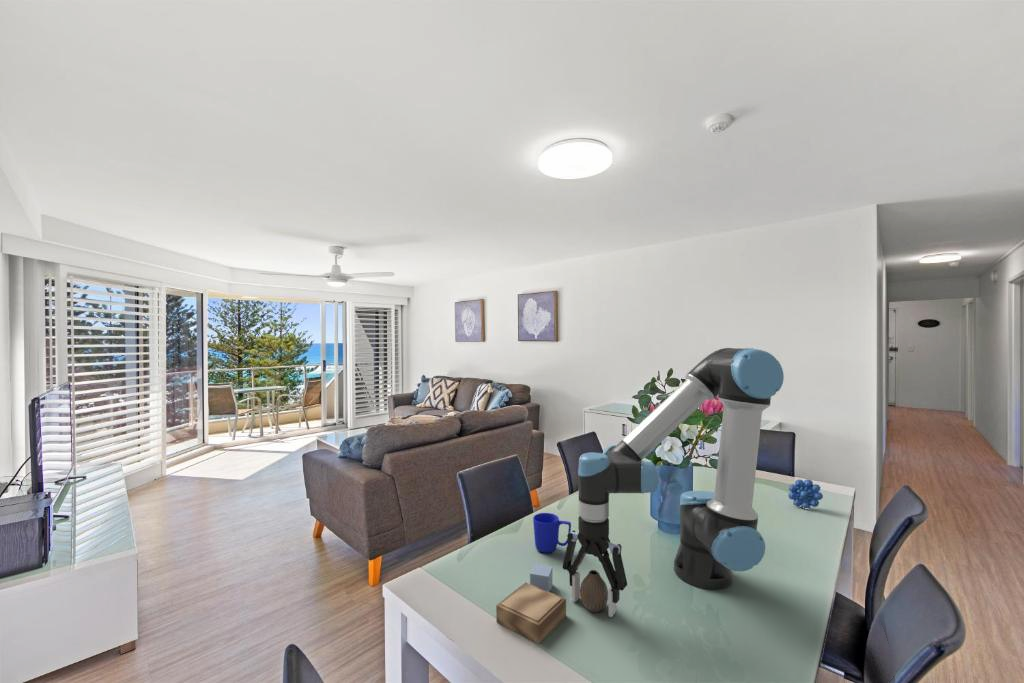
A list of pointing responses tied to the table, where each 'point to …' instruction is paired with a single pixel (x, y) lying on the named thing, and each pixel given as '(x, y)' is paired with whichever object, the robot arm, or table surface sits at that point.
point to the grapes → (805, 493)
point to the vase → (594, 592)
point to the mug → (548, 532)
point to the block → (541, 577)
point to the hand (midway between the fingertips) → (593, 606)
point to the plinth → (531, 611)
